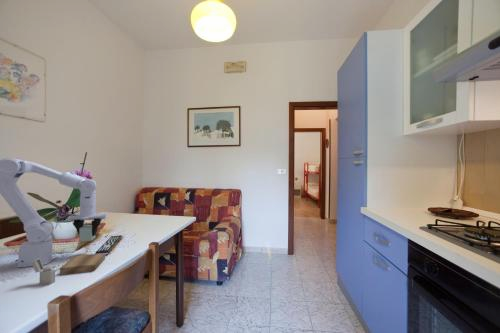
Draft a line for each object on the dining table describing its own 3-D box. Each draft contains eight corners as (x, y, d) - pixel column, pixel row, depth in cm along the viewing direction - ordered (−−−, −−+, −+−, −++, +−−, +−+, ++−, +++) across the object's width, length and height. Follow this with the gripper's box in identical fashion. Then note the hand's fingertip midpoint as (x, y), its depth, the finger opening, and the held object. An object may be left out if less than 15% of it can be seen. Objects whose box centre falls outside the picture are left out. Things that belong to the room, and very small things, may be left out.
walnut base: (59, 276, 77) (59, 268, 77) (74, 262, 87) (75, 255, 87) (94, 272, 80) (94, 264, 80) (105, 259, 91) (105, 253, 91)
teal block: (79, 241, 92) (79, 228, 92) (84, 238, 96) (84, 225, 96) (91, 240, 93) (91, 227, 93) (95, 237, 98) (95, 224, 98)
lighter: (55, 281, 72) (55, 258, 72) (50, 284, 71) (50, 261, 71) (36, 280, 73) (36, 258, 73) (30, 283, 71) (31, 260, 71)
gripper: (63, 208, 89) (63, 240, 89) (103, 207, 93) (102, 237, 93) (72, 205, 96) (71, 234, 96) (108, 204, 100) (108, 232, 100)
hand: (87, 235), depth 95 cm, fingers closed on teal block, 4 cm apart
